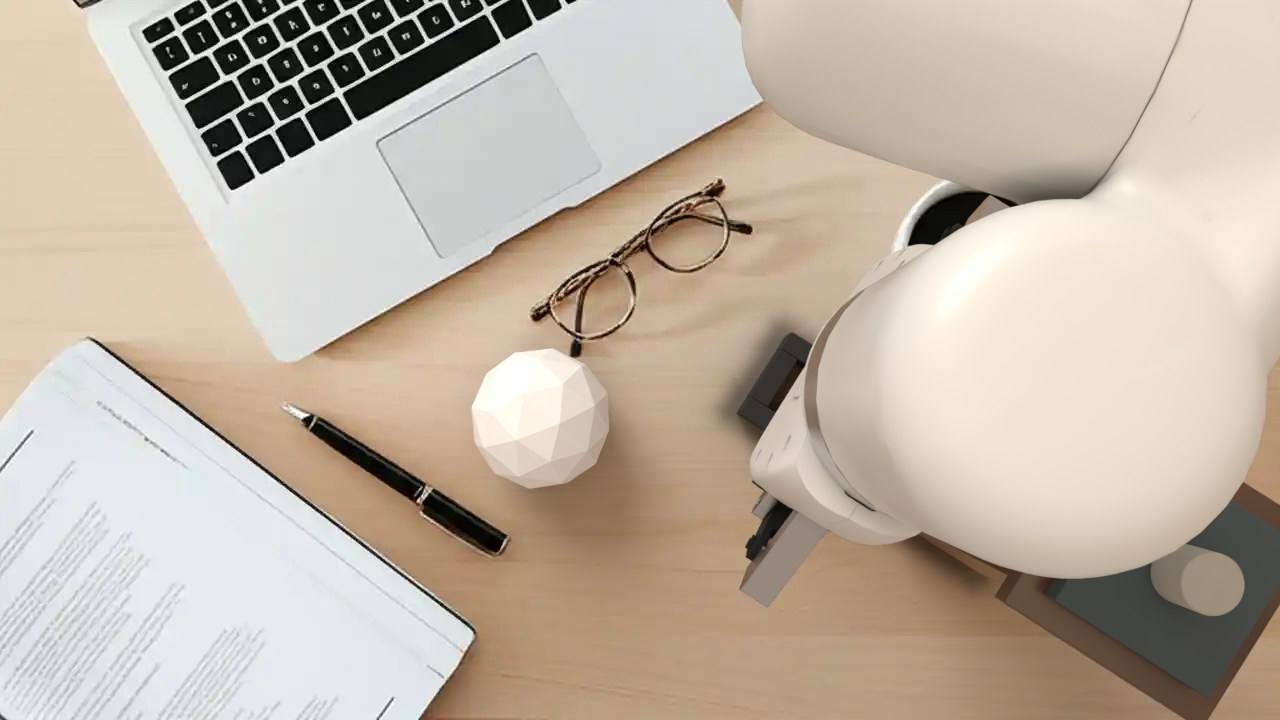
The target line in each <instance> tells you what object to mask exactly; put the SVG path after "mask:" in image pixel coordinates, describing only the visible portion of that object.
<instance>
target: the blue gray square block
mask: <svg viewBox="0 0 1280 720" xmlns="http://www.w3.org/2000/svg"><path fill="white" fill-rule="evenodd" d="M1279 585H1280V531H1279V530H1278V529H1276V528H1274V527H1273V526H1271V525H1270V524H1268V523H1266V522H1265V521H1263V520H1262V519H1260V518H1259V517H1257V516H1255V515H1254V514H1252V513H1251V512H1249V511H1247V510H1246V509H1244V508H1243V507H1241V506H1239V505H1238V504H1236V503H1235V502H1233V501H1232V500H1230V502H1229V503H1228V505H1227V506H1226V507H1225V508H1224V510H1223V511H1222V512H1221V513H1220V514H1219V515H1218V516H1217V517H1216V518H1215V519H1214V520H1213V521H1212V522H1211V523H1210V524H1209V525H1208V526H1207V527H1206V528H1205V529H1204V530H1203V531H1202V532H1201V533H1200V534H1198V535H1197V536H1195V537H1194V538H1193V539H1191V540H1190V541H1188V542H1187V543H1186V544H1184V545H1183V546H1181V547H1180V548H1179V549H1177V550H1176V551H1174V552H1172V553H1170V554H1168V555H1166V556H1164V557H1162V558H1160V559H1158V560H1156V561H1153V562H1151V563H1149V564H1147V565H1145V566H1142V567H1139V568H1136V569H1132V570H1128V571H1125V572H1121V573H1117V574H1112V575H1107V576H1101V577H1094V578H1082V579H1062V578H1054V579H1053V580H1052V582H1051V583H1050V585H1049V587H1048V588H1047V590H1046V591H1045V593H1044V595H1045V596H1047V597H1048V598H1050V599H1052V600H1053V601H1055V602H1056V603H1058V604H1059V605H1061V606H1063V607H1064V608H1066V609H1067V610H1069V611H1070V612H1072V613H1074V614H1075V615H1077V616H1078V617H1080V618H1081V619H1083V620H1084V621H1086V622H1088V623H1089V624H1091V625H1092V626H1094V627H1095V628H1097V629H1099V630H1100V631H1102V632H1103V633H1105V634H1106V635H1108V636H1110V637H1111V638H1113V639H1114V640H1116V641H1117V642H1119V643H1121V644H1122V645H1124V646H1125V647H1127V648H1128V649H1130V650H1131V651H1133V652H1135V653H1136V654H1138V655H1139V656H1141V657H1142V658H1144V659H1146V660H1147V661H1149V662H1150V663H1152V664H1153V665H1155V666H1157V667H1158V668H1160V669H1161V670H1163V671H1164V672H1166V673H1168V674H1169V675H1171V676H1172V677H1174V678H1175V679H1177V680H1178V681H1180V682H1182V683H1183V684H1185V685H1186V686H1188V687H1189V688H1191V689H1193V690H1194V691H1196V692H1198V693H1200V694H1202V695H1204V696H1205V697H1207V698H1209V697H1210V696H1211V694H1212V692H1213V691H1214V689H1215V688H1216V686H1217V684H1218V683H1219V681H1220V680H1221V678H1222V676H1223V675H1224V673H1225V672H1226V670H1227V668H1228V667H1229V665H1230V664H1231V662H1232V660H1233V659H1234V657H1235V656H1236V654H1237V652H1238V651H1239V649H1240V648H1241V646H1242V644H1243V643H1244V641H1245V640H1246V638H1247V637H1248V635H1249V633H1250V632H1251V630H1252V629H1253V627H1254V625H1255V624H1256V622H1257V621H1258V619H1259V617H1260V616H1261V614H1262V613H1263V611H1264V609H1265V608H1266V606H1267V605H1268V603H1269V601H1270V600H1271V598H1272V597H1273V595H1274V593H1275V592H1276V590H1277V589H1278V587H1279Z"/></svg>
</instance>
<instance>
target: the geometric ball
mask: <svg viewBox="0 0 1280 720" xmlns="http://www.w3.org/2000/svg"><path fill="white" fill-rule="evenodd" d="M608 396H609V395H608V392H607V390H606V389H605V388H604V387H603V385H602V384H601V382H600V380H598V378H597V377H596V376H595V374H594V373H593V372H592V371H591V369H590V368H589V367H588V365H587V364H585V363H583V362H581V361H579V360H578V359H575V358H574V357H571V356H569V355H567V354H565V353H563V352H561V351H559V350H557V349H555V348H553V347H552V348H544V349H543V348H542V349H534V350H526V351H517V352H514V353H512V354H511V355H510V356H508V357H507V358H506V359H504V360H502V361H501V362H500V363H498V365H496V366H494V368H492V369H490V370H489V371H488V372H486V374H485V376H484V378H483V380H482V382H481V385H480V387H479V389H478V391H477V394H476V396H475V399H474V401H473V403H472V406H471V418H472V419H471V420H472V429H473V440H474V445H475V446H476V448H477V450H478V451H479V453H480V454H481V456H482V457H483V458H484V460H485V462H486V463H487V464H488V466H489V467H490V469H491V470H492V472H493V474H495V475H497V476H500V477H501V478H504V479H506V480H508V481H511V482H513V483H514V484H517V485H520V486H522V487H523V488H526V489H528V490H530V489H538V488H544V487H545V488H546V487H551V486H557V485H564V484H568V483H569V482H571V481H572V480H574V479H575V478H578V476H579V475H582V474H583V473H584V472H586V471H588V470H589V469H590V468H592V467H593V466H595V465H596V464H597V462H598V460H599V457H600V454H601V452H602V450H603V447H604V445H605V442H606V439H607V437H608V434H609V432H610V418H609V397H608Z"/></svg>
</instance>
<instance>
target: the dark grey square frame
mask: <svg viewBox="0 0 1280 720" xmlns="http://www.w3.org/2000/svg"><path fill="white" fill-rule="evenodd" d="M812 346H813V343H810V342H809V341H807V340H806V339H804V338H803V337H801V336H799V335H798V334H796V333H795V332H790V333H788V334H786V335H785V336H784V337H783V339H782V340H781V342H780V344H779V345H778V346H777V348H776V350H775V351H774V353H773V355H772V356H771V358H770V359H769V361H768V362H767V364H766V365H765V367H764V369H763V370H762V372H761V373H760V375H759V377H758V378H757V380H756V381H755V383H754V384H753V386H752V388H750V390H749V392H748V394H747V395H746V397H745V398H744V399H743V401H742V403H741V404H740V406H739V408H738V409H737V411H736V414H737V415H738V416H740V417H741V418H742V419H744V420H746V421H748V423H750V424H752V425H753V426H755V427H757V428H759V429H760V430H762V431H763V432H764V431H765V430H766V428H767V426H768V425H769V423H770V421H771V420H772V418H773V417H774V415H775V413H776V412H775V411H774V410H773V409H771V408H769V406H770V405H771V403H772V401H773V400H774V399H775V397H776V395H777V394H778V392H779V390H780V389H781V387H782V386H783V384H784V383H785V381H786V379H788V377H789V375H790V373H791V372H792V371H793V369H794V366H795V365H796V366H798V367H799V368H801V369H802V370H803V369H804V367H805V365H806V362H807V359H808V356H809V352H810V350H811V348H812Z"/></svg>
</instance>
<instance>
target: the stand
mask: <svg viewBox="0 0 1280 720" xmlns="http://www.w3.org/2000/svg"><path fill="white" fill-rule="evenodd" d="M1231 500H1232V501H1233V502H1235V503H1236V504H1238V505H1239V506H1241V507H1243V508H1244V509H1246V510H1247V511H1249V512H1251V513H1252V514H1254V515H1255V516H1257V517H1259V518H1260V519H1262V520H1263V521H1265V522H1266V523H1268V524H1270V525H1271V526H1273V527H1274V528H1276V529H1278V530H1279V531H1280V503H1278V502H1276V501H1275V500H1273V499H1271V498H1270V497H1268V496H1267V495H1265V494H1264V493H1262V492H1260V491H1259V490H1257V489H1256V488H1254V487H1252V486H1251V485H1249V484H1248V483H1246V482H1245V481H1243V483H1242V484H1241V486H1240V487H1239V489H1238V490H1237V492H1236V493H1235V494H1234V496H1233V497H1232V499H1231ZM918 536H919V537H921V538H923V539H924V540H926V541H927V542H929V543H930V544H932V545H934V546H935V547H937V548H938V549H940V550H941V551H943V552H944V553H946V554H948V555H949V556H950V557H952V558H954V559H956V560H957V561H958V562H960V563H962V564H963V565H964V566H966V567H968V568H970V569H971V570H973V571H974V572H976V573H977V574H980V575H982V576H983V577H985V578H987V579H989V580H991V581H993V582H994V583H996V584H998V585H1000V586H999V588H998V590H997V591H996V593H995V594H994V598H995V600H996V601H998V602H1000V603H1001V604H1004V605H1005V606H1006V607H1008V608H1009V609H1011V610H1013V611H1014V612H1016V613H1017V614H1019V615H1020V616H1022V617H1024V618H1025V619H1027V620H1028V621H1030V622H1031V623H1033V624H1035V625H1036V626H1038V627H1039V628H1040V629H1043V630H1044V631H1046V632H1047V633H1048V634H1050V635H1052V636H1053V637H1054V638H1057V639H1058V640H1060V641H1061V642H1062V643H1064V644H1066V645H1067V646H1069V647H1071V648H1072V649H1074V650H1075V651H1077V652H1078V653H1080V654H1081V655H1083V656H1085V657H1086V658H1087V659H1089V660H1091V661H1092V662H1093V663H1095V664H1097V665H1098V666H1100V667H1101V668H1104V669H1105V670H1106V671H1107V672H1109V673H1111V674H1112V675H1114V676H1116V677H1117V678H1119V679H1121V680H1122V681H1124V682H1125V683H1127V684H1128V685H1130V686H1132V687H1133V688H1135V689H1136V690H1138V691H1139V692H1141V693H1142V694H1144V695H1146V696H1147V697H1149V698H1150V699H1152V700H1153V701H1155V702H1156V703H1158V704H1160V705H1161V706H1162V707H1164V708H1166V709H1167V710H1169V711H1171V713H1174V714H1175V715H1176V716H1178V717H1180V718H1181V719H1182V720H1209V719H1210V717H1211V716H1212V714H1213V713H1214V711H1215V710H1216V708H1217V706H1218V705H1219V703H1220V701H1221V700H1222V698H1223V696H1224V695H1225V694H1226V692H1227V690H1228V689H1229V687H1230V685H1231V684H1232V683H1233V681H1234V679H1235V678H1236V676H1237V674H1239V673H1238V672H1239V671H1240V669H1241V668H1242V666H1243V665H1244V663H1245V662H1246V660H1247V658H1248V657H1249V655H1250V653H1251V652H1252V650H1253V649H1254V647H1255V645H1256V644H1257V642H1258V641H1259V639H1260V637H1261V636H1262V635H1263V633H1264V631H1265V629H1266V628H1267V627H1268V624H1269V623H1270V621H1271V620H1272V618H1273V616H1274V615H1275V613H1277V611H1278V609H1279V607H1280V585H1279V587H1278V589H1277V590H1276V592H1275V593H1274V595H1273V597H1272V598H1271V600H1270V601H1269V603H1268V605H1267V606H1266V608H1265V609H1264V611H1263V613H1262V614H1261V616H1260V617H1259V619H1258V621H1257V622H1256V624H1255V625H1254V627H1253V629H1252V630H1251V632H1250V633H1249V635H1248V637H1247V638H1246V640H1245V641H1244V643H1243V644H1242V646H1241V648H1240V649H1239V651H1238V652H1237V654H1236V656H1235V657H1234V659H1233V660H1232V662H1231V664H1230V665H1229V667H1228V668H1227V670H1226V672H1225V673H1224V675H1223V676H1222V678H1221V680H1220V681H1219V683H1218V684H1217V686H1216V688H1215V689H1214V691H1213V692H1212V694H1211V696H1210V697H1209V698H1207V697H1205V696H1204V695H1202V694H1200V693H1198V692H1196V691H1194V690H1193V689H1191V688H1189V687H1188V686H1186V685H1185V684H1183V683H1182V682H1180V681H1178V680H1177V679H1175V678H1174V677H1172V676H1171V675H1169V674H1168V673H1166V672H1164V671H1163V670H1161V669H1160V668H1158V667H1157V666H1155V665H1153V664H1152V663H1150V662H1149V661H1147V660H1146V659H1144V658H1142V657H1141V656H1139V655H1138V654H1136V653H1135V652H1133V651H1131V650H1130V649H1128V648H1127V647H1125V646H1124V645H1122V644H1121V643H1119V642H1117V641H1116V640H1114V639H1113V638H1111V637H1110V636H1108V635H1106V634H1105V633H1103V632H1102V631H1100V630H1099V629H1097V628H1095V627H1094V626H1092V625H1091V624H1089V623H1088V622H1086V621H1084V620H1083V619H1081V618H1080V617H1078V616H1077V615H1075V614H1074V613H1072V612H1070V611H1069V610H1067V609H1066V608H1064V607H1063V606H1061V605H1059V604H1058V603H1056V602H1055V601H1053V600H1052V599H1050V598H1048V597H1047V596H1045V595H1044V593H1045V591H1046V590H1047V588H1048V587H1049V585H1050V583H1051V582H1052V580H1053V579H1054V578H1052V577H1043V576H1038V575H1033V574H1028V573H1024V572H1020V571H1016V570H1013V569H1009V568H1006V567H1002V566H999V565H996V564H993V563H991V562H988V561H985V560H983V559H981V558H979V557H976V556H974V555H972V554H970V553H968V552H965V551H963V550H961V549H959V548H957V547H954V546H952V545H950V544H948V543H946V542H944V541H941V540H939V539H937V538H935V537H933V536H930V535H928V534H926V533H924V532H921V533H919V534H918Z"/></svg>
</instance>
